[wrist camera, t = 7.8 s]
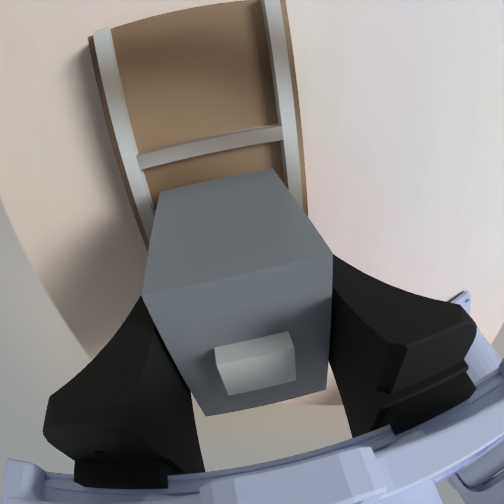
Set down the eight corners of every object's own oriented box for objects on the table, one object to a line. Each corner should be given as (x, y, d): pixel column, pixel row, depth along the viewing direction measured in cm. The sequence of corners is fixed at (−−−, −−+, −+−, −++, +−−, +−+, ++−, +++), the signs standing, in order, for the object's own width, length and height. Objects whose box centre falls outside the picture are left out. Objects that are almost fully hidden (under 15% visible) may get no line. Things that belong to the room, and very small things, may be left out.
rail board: (307, 331, 22) (314, 348, 20) (195, 356, 21) (197, 374, 20) (278, 1, 10) (289, -5, 9) (94, 38, 10) (83, 36, 9)
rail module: (285, 286, 15) (330, 402, 10) (196, 305, 15) (207, 430, 10) (272, 168, 12) (343, 269, 7) (159, 191, 12) (138, 314, 6)
